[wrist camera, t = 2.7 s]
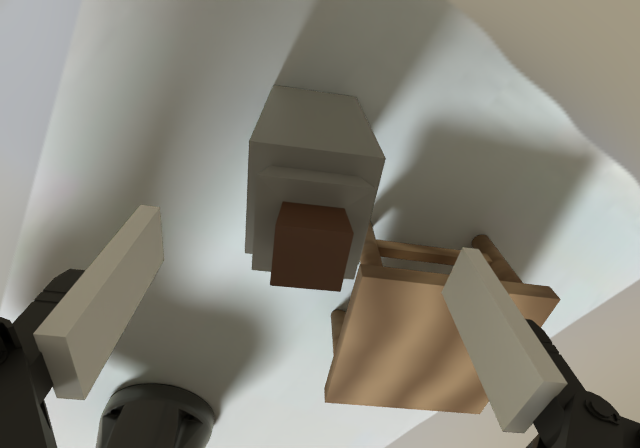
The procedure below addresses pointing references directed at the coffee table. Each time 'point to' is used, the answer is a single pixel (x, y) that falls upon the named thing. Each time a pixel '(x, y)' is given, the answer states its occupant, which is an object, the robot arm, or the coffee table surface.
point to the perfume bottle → (310, 188)
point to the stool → (414, 331)
